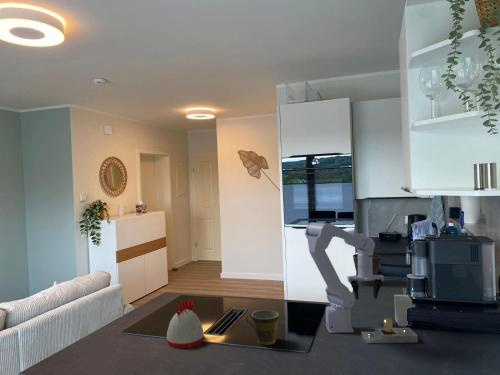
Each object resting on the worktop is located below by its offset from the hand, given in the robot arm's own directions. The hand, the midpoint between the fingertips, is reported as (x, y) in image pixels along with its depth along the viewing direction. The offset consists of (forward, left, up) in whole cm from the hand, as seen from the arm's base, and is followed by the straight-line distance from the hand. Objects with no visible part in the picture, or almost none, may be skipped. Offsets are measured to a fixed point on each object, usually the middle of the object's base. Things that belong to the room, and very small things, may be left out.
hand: (366, 298), depth 157 cm
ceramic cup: (-43, -18, -10) cm, 48 cm away
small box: (+14, -3, -10) cm, 17 cm away
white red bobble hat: (-72, -16, -10) cm, 74 cm away
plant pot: (+16, +58, -10) cm, 61 cm away
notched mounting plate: (+3, -18, -9) cm, 21 cm away
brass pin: (+3, -18, -9) cm, 21 cm away
